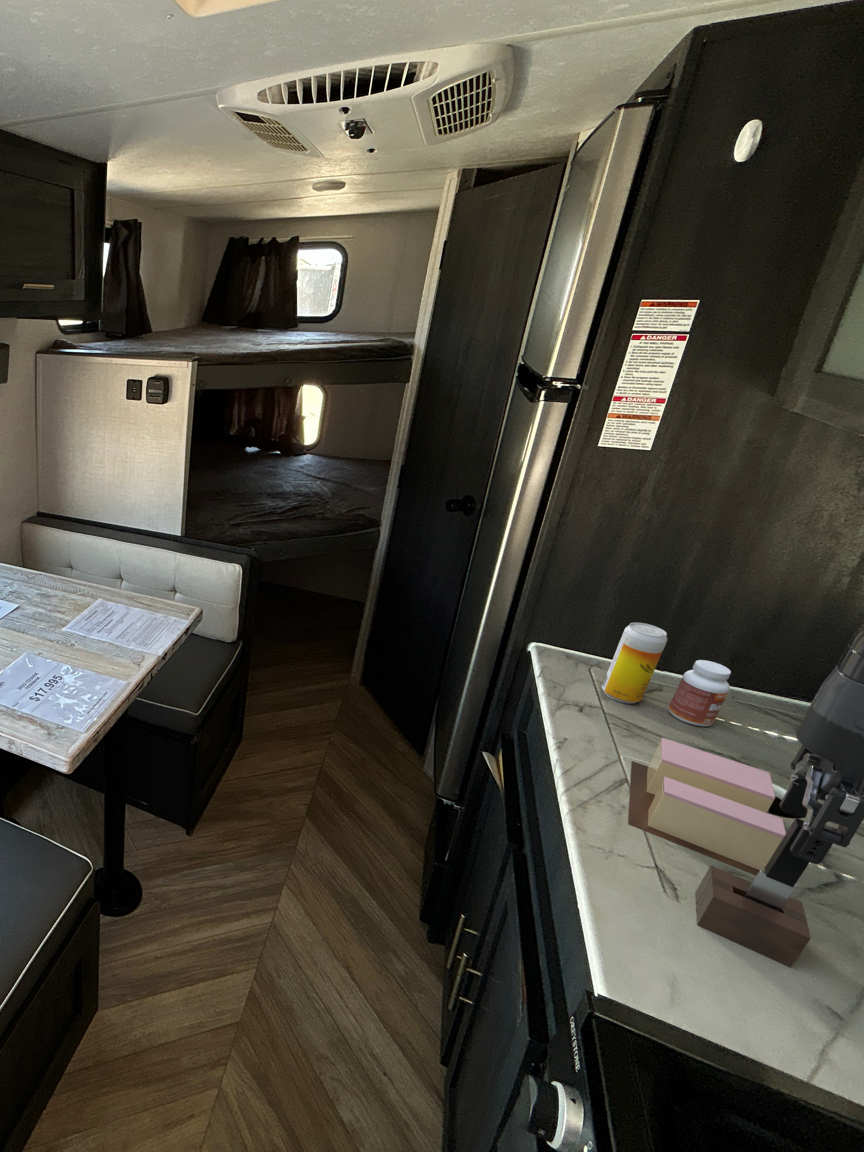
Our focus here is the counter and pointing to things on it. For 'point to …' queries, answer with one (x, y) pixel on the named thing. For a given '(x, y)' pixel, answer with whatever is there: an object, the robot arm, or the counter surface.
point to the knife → (779, 873)
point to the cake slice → (716, 823)
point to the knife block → (750, 918)
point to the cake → (710, 775)
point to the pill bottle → (701, 693)
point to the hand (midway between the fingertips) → (797, 834)
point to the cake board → (639, 819)
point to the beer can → (634, 662)
